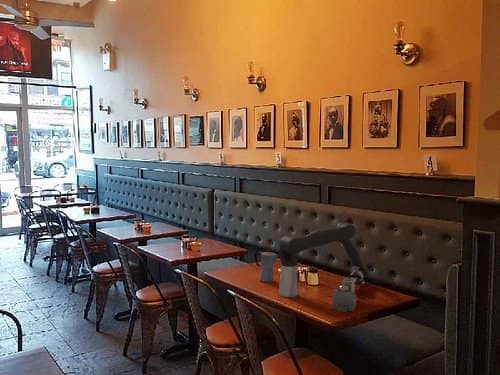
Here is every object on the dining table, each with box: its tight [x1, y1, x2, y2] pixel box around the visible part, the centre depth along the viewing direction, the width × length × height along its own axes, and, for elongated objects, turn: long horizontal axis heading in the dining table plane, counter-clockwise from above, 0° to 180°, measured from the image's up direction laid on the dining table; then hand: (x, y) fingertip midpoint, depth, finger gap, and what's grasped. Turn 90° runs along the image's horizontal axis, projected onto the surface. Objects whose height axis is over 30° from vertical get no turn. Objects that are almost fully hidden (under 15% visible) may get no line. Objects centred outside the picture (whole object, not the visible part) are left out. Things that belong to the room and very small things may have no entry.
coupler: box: [331, 284, 357, 313], centre depth 244 cm, size 10×12×12 cm
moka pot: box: [253, 249, 279, 283], centre depth 295 cm, size 10×15×20 cm, turn 81°
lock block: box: [341, 276, 355, 293], centre depth 256 cm, size 5×10×12 cm, turn 159°
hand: (351, 285), depth 265 cm, fingers closed
